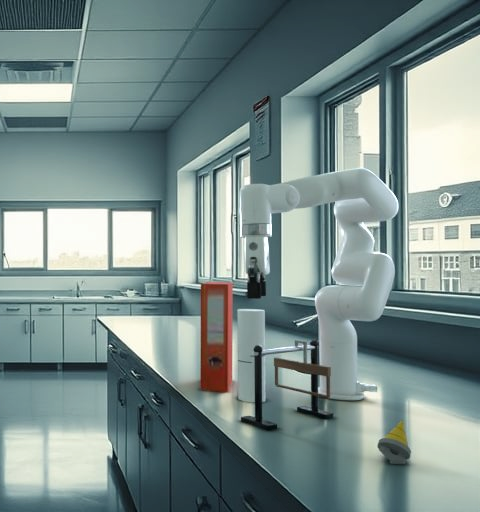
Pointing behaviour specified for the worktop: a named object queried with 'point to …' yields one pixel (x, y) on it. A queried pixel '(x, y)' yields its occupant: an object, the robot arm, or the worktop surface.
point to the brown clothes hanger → (303, 370)
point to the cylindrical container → (249, 351)
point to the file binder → (216, 336)
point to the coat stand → (258, 420)
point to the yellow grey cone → (395, 445)
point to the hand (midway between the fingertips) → (257, 297)
